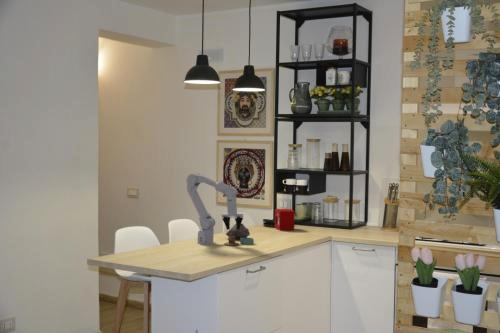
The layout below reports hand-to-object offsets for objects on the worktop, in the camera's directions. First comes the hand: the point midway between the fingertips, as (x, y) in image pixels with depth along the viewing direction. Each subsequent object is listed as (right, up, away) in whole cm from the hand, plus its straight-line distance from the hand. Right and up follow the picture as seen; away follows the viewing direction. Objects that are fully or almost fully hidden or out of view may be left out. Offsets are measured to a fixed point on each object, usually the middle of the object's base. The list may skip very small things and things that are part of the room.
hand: (233, 229), depth 369 cm
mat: (-1, -10, -1) cm, 10 cm away
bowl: (+8, -10, +6) cm, 14 cm away
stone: (+2, -9, +26) cm, 27 cm away
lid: (-1, -9, -1) cm, 9 cm away
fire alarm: (+35, -9, +82) cm, 90 cm away
